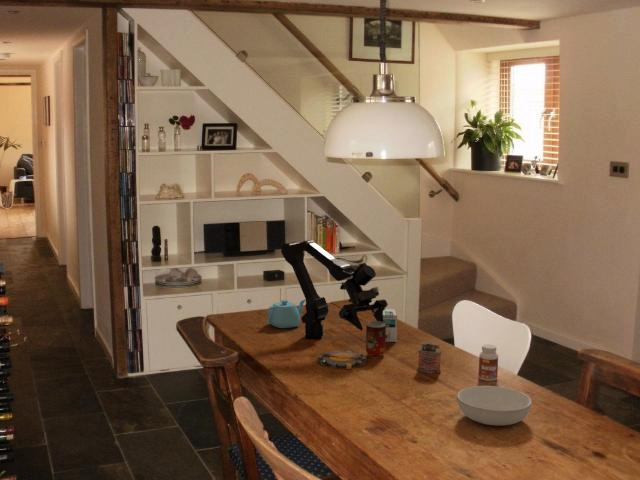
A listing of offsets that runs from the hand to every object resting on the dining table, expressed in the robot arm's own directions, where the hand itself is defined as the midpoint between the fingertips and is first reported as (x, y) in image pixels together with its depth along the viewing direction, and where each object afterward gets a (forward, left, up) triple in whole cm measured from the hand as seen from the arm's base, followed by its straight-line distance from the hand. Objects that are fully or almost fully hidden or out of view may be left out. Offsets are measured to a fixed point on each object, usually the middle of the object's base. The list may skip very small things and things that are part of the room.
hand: (372, 328), depth 297 cm
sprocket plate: (-11, -10, -10) cm, 18 cm away
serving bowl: (+34, -62, -10) cm, 72 cm away
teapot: (-35, +38, -10) cm, 52 cm away
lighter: (+19, -19, -10) cm, 29 cm away
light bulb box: (+6, +21, -10) cm, 24 cm away
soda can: (+1, -2, -10) cm, 10 cm away
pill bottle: (+38, -25, -10) cm, 47 cm away
